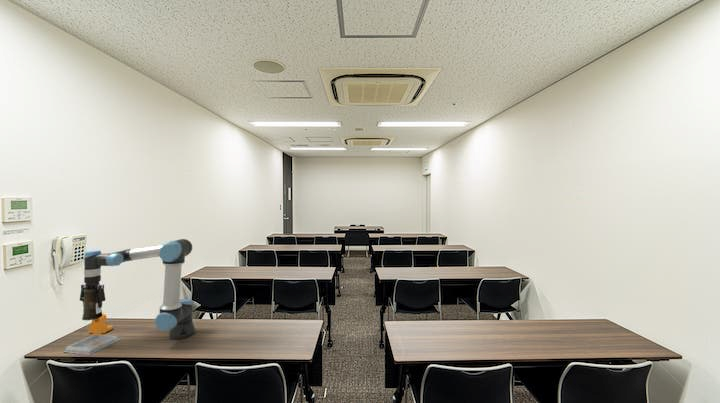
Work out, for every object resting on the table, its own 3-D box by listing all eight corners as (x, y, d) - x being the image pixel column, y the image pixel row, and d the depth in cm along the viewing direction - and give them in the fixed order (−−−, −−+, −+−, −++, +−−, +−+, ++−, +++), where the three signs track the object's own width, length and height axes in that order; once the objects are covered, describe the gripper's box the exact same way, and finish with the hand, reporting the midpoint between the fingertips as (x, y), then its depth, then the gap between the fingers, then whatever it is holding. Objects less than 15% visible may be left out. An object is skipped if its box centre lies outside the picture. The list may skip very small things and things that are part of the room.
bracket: (113, 329, 202) (113, 312, 202) (104, 334, 195) (104, 316, 195) (97, 329, 202) (97, 312, 202) (88, 334, 194) (88, 316, 194)
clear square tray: (119, 340, 186) (119, 335, 186) (89, 355, 168) (89, 349, 168) (95, 338, 189) (95, 333, 189) (63, 352, 171) (63, 347, 171)
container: (78, 320, 175) (78, 290, 175) (94, 314, 184) (94, 285, 184) (90, 321, 173) (90, 291, 173) (106, 315, 182) (106, 286, 182)
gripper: (113, 274, 181) (113, 311, 181) (84, 273, 184) (84, 309, 184) (101, 277, 173) (101, 315, 173) (71, 276, 176) (71, 313, 176)
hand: (92, 312), depth 178 cm, fingers closed on container, 8 cm apart
